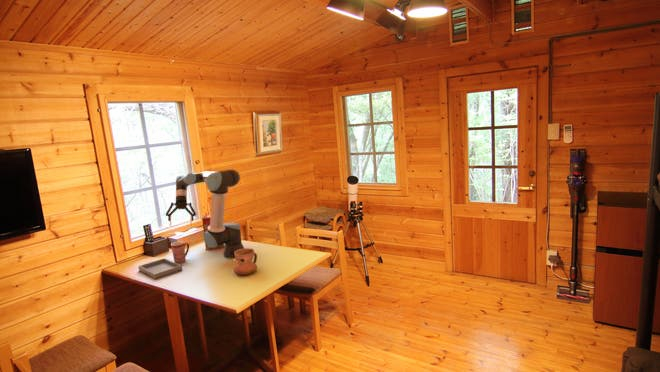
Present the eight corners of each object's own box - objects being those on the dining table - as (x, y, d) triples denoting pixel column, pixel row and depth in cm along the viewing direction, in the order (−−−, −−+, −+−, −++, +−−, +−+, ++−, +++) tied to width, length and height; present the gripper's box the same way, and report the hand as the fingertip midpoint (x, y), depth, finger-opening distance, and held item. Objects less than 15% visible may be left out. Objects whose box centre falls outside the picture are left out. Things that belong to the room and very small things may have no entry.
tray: (182, 270, 262) (181, 265, 261) (155, 279, 249) (154, 274, 248) (165, 262, 278) (164, 257, 277) (139, 271, 265) (138, 266, 264)
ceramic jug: (241, 279, 241) (239, 257, 239) (227, 274, 251) (226, 252, 249) (264, 270, 254) (263, 249, 252) (251, 265, 264) (249, 245, 262)
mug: (177, 265, 272) (174, 246, 270) (170, 262, 278) (168, 243, 276) (193, 259, 282) (191, 241, 279) (187, 256, 287) (184, 239, 285)
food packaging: (205, 250, 300) (201, 218, 295) (206, 246, 309) (203, 215, 304) (223, 248, 302) (220, 216, 298) (224, 244, 311) (221, 213, 307)
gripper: (199, 198, 296) (199, 226, 289) (162, 198, 286) (161, 226, 279) (199, 195, 289) (199, 223, 282) (162, 194, 280) (161, 223, 273)
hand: (180, 225), depth 281 cm, fingers open, 13 cm apart
